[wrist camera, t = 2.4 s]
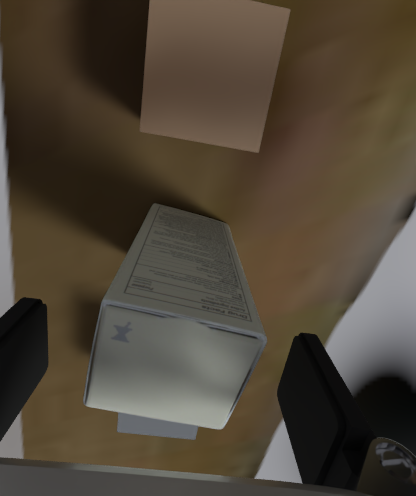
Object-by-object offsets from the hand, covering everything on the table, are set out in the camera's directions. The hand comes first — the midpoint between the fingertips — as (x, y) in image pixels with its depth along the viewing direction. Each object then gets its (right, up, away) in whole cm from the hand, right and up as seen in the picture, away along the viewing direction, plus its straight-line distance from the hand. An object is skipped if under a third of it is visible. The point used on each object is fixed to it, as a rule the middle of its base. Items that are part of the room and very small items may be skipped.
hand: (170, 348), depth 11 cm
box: (0, +4, +8) cm, 9 cm away
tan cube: (+1, +12, +5) cm, 13 cm away
